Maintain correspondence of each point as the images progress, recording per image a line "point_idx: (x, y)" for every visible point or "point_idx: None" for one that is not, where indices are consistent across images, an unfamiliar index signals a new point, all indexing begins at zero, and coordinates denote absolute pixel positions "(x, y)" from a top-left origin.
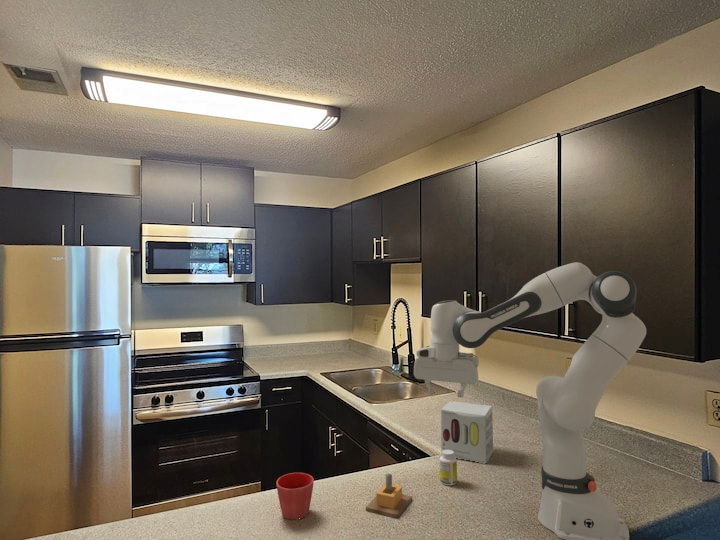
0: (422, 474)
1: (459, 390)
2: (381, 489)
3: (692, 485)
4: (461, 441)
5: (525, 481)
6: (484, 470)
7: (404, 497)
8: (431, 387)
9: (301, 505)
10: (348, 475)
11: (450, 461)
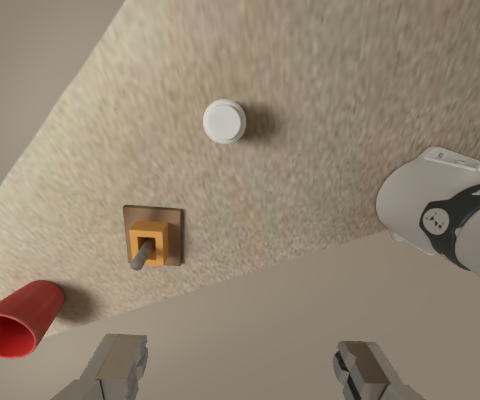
0: (162, 99)
1: (369, 384)
2: (133, 251)
3: None
4: None
5: (384, 55)
6: (296, 19)
7: (170, 218)
8: (98, 390)
9: (52, 321)
10: (22, 159)
11: (234, 141)
